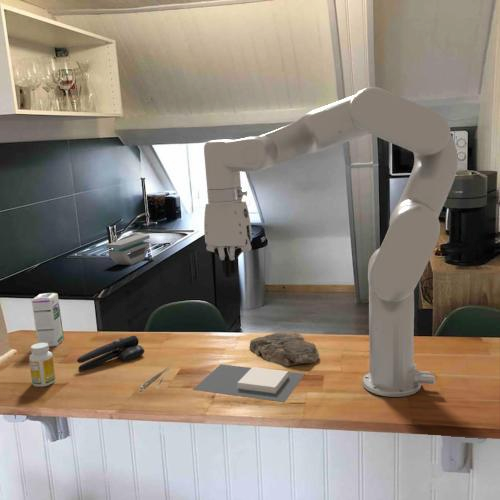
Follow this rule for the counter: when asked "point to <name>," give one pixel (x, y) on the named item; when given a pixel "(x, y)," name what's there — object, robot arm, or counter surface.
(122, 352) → the can opener
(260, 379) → the tile
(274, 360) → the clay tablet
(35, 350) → the supplement bottle
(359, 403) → the counter surface
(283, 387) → the mat
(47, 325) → the syrup box
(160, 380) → the old metal nails
